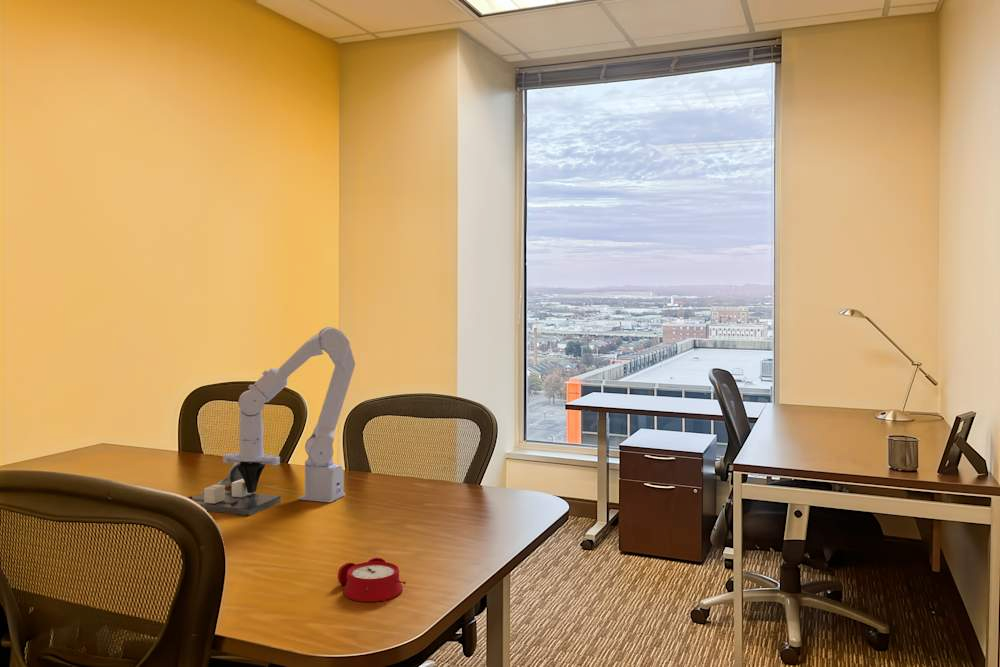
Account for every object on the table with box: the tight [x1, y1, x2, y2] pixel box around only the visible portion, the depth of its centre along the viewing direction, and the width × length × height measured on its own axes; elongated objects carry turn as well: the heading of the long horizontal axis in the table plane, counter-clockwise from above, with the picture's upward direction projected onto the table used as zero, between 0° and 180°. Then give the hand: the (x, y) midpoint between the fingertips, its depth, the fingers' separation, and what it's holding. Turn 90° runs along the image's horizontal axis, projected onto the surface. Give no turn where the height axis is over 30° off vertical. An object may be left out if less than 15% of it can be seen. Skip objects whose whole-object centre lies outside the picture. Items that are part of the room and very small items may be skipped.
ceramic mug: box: [216, 463, 243, 489], centre depth 213 cm, size 11×8×8 cm
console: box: [187, 489, 281, 516], centre depth 196 cm, size 20×13×2 cm, turn 72°
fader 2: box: [231, 479, 252, 497], centre depth 199 cm, size 3×4×4 cm
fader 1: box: [203, 484, 226, 504], centre depth 193 cm, size 3×4×4 cm
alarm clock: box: [337, 557, 407, 603], centre depth 142 cm, size 10×6×15 cm
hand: (251, 491), depth 198 cm, fingers closed
